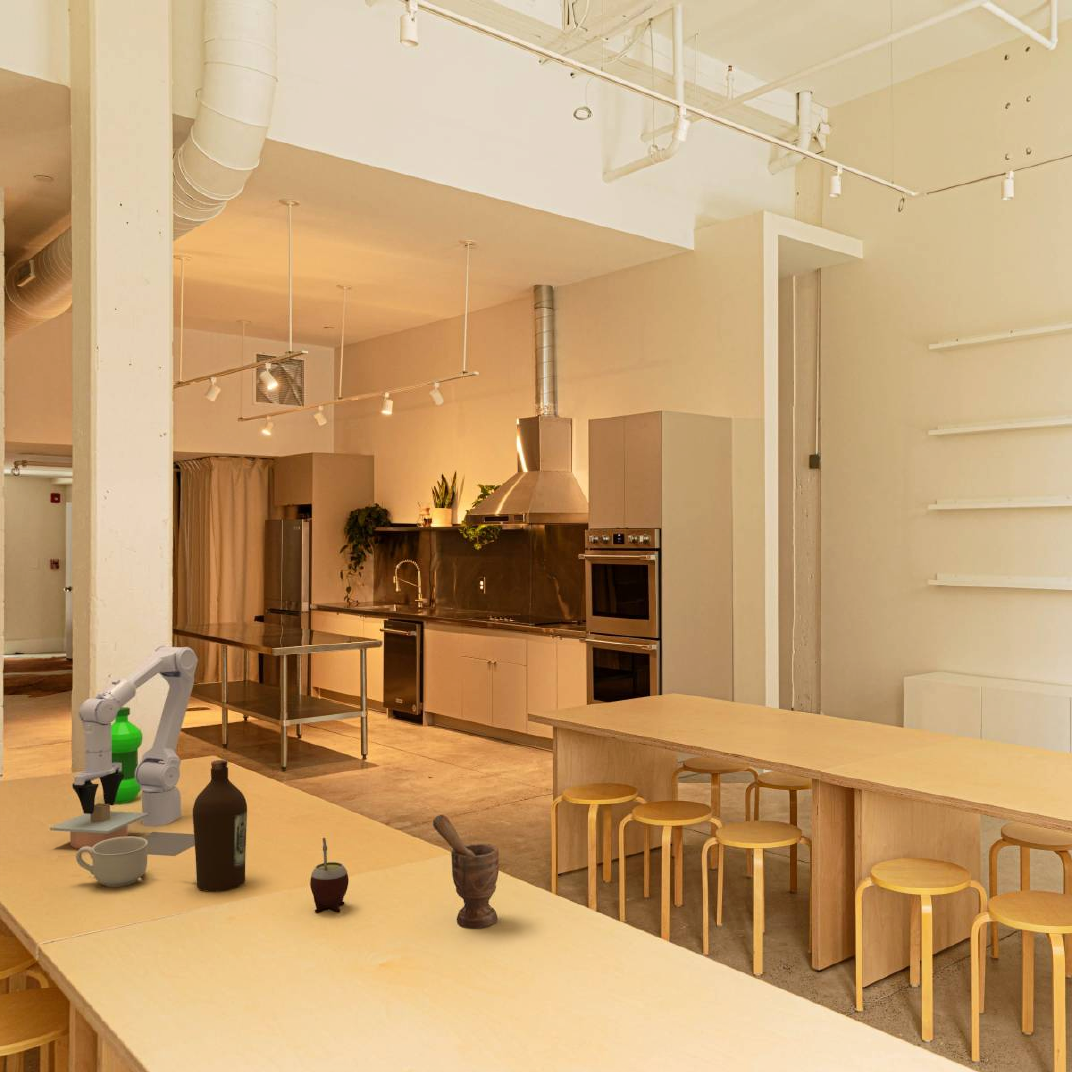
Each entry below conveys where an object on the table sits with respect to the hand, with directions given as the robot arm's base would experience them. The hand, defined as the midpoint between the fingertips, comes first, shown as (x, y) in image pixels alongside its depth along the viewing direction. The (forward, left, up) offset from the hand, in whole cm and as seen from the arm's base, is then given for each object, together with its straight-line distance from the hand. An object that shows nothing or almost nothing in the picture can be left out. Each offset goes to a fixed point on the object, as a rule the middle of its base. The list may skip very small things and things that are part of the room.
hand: (99, 809), depth 240 cm
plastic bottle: (-37, -20, -8) cm, 43 cm away
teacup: (+23, +20, -8) cm, 32 cm away
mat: (-1, +16, -8) cm, 18 cm away
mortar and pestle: (+31, +99, -8) cm, 104 cm away
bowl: (0, 0, -8) cm, 8 cm away
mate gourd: (+29, +71, -8) cm, 77 cm away
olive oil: (+20, +43, -8) cm, 48 cm away
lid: (0, 0, -3) cm, 3 cm away
